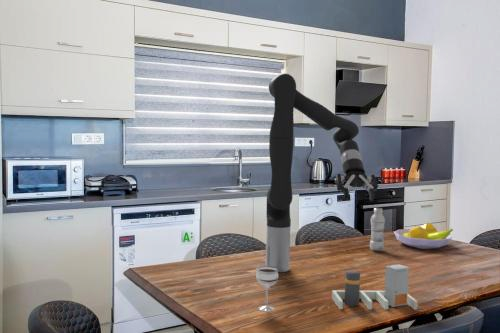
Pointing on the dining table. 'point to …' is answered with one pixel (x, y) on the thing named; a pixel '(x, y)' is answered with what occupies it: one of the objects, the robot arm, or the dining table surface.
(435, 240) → the fruit bowl
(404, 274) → the skincare box
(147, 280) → the dining table surface
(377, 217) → the plastic bottle
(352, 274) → the charcoal plug
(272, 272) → the wineglass
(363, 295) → the rack
